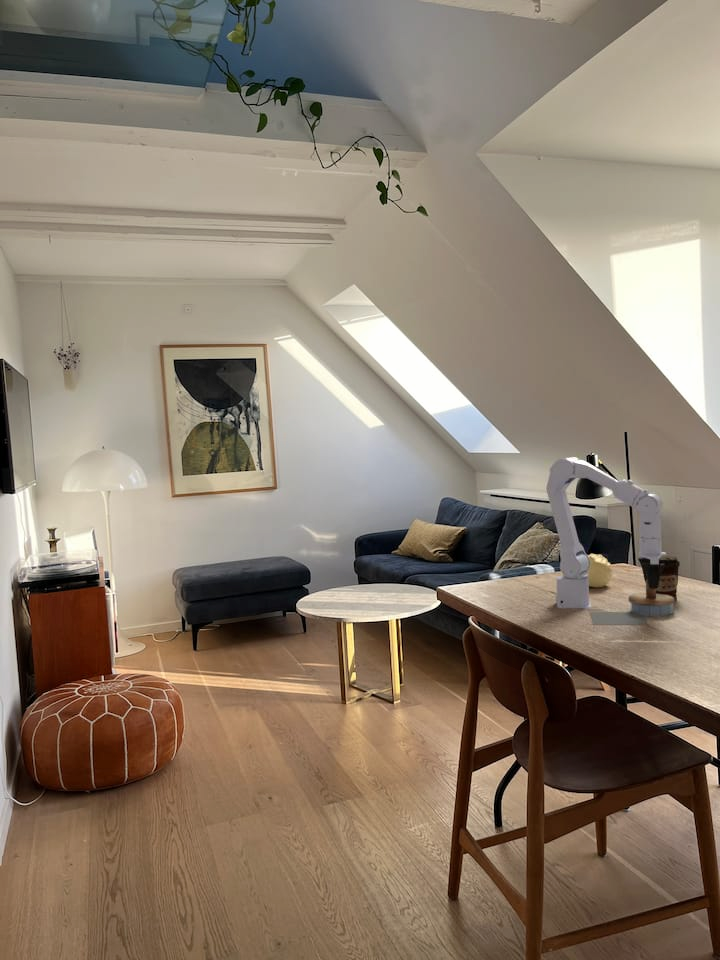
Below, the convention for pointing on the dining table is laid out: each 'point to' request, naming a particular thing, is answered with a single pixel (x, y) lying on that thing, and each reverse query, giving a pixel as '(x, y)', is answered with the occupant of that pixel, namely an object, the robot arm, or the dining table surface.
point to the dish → (652, 610)
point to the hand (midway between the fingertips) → (651, 585)
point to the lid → (651, 598)
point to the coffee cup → (668, 576)
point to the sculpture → (598, 571)
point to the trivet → (617, 618)
